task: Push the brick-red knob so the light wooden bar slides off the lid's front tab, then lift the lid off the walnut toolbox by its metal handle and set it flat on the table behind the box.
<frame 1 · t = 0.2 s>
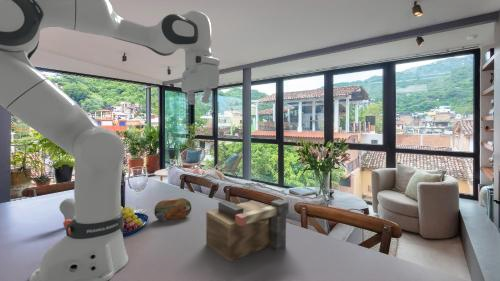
hand: (198, 103, 87), 47 cm above the table, tool pointing down, fingers open, 8 cm apart
toolbox: (242, 243, 85), on the table
lid: (242, 214, 85), point 10 cm above the table, touching toolbox
light wooden bar: (258, 214, 77), point 13 cm above the table, slide at 0.0 cm
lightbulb: (70, 226, 98), on the table
tin: (173, 219, 107), on the table
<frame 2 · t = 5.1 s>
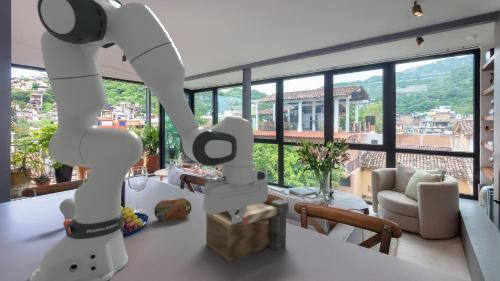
hand: (237, 222, 72), 12 cm above the table, tool pointing down, fingers closed
light wooden bar: (260, 214, 78), point 13 cm above the table, slide at 0.9 cm, touching gripper
everything else where it was.
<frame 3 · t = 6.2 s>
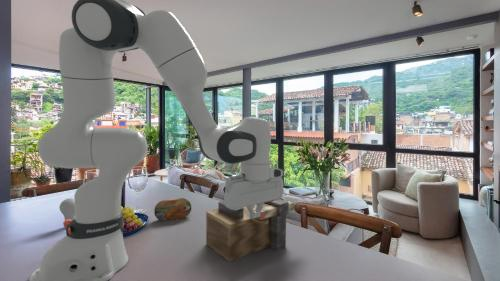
hand: (255, 217, 75), 12 cm above the table, tool pointing down, fingers closed
light wooden bar: (275, 209, 82), point 13 cm above the table, slide at 7.2 cm, touching gripper
everything else where it was.
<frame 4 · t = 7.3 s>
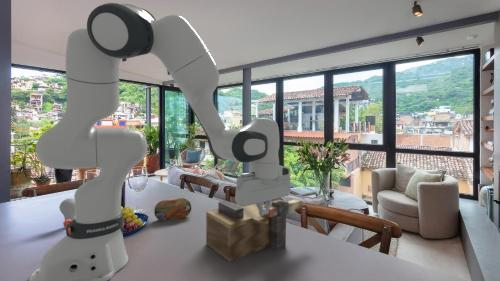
hand: (264, 214, 78), 12 cm above the table, tool pointing down, fingers closed
light wooden bar: (284, 207, 84), point 13 cm above the table, slide at 11.2 cm, touching gripper
everything else where it was.
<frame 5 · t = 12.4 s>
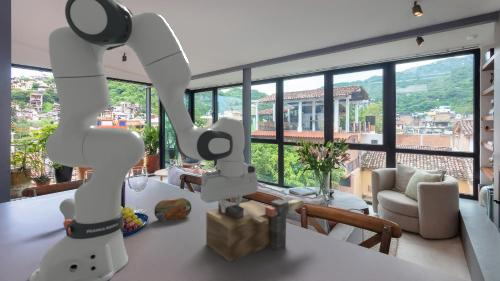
hand: (230, 210, 82), 12 cm above the table, tool pointing down, fingers closed on lid, 3 cm apart
lid: (242, 214, 85), point 10 cm above the table, touching gripper, toolbox
light wooden bar: (285, 207, 85), point 13 cm above the table, slide at 11.8 cm
everything else where it was.
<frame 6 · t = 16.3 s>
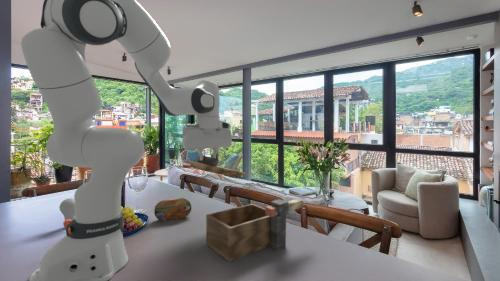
hand: (208, 159, 98), 26 cm above the table, tool pointing down, fingers closed on lid, 3 cm apart
lid: (216, 169, 101), point 22 cm above the table, tilted 16°, touching gripper
everything else where it was.
when the fingers open (5 cm above the table, at t = 20.3 s): lid stays where it is, point 1 cm above the table.
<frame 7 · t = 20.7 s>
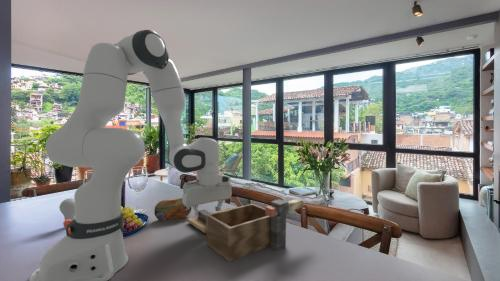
hand: (208, 213, 99), 5 cm above the table, tool pointing down, fingers open, 8 cm apart
lid: (217, 220, 103), point 1 cm above the table
everything else where it was.
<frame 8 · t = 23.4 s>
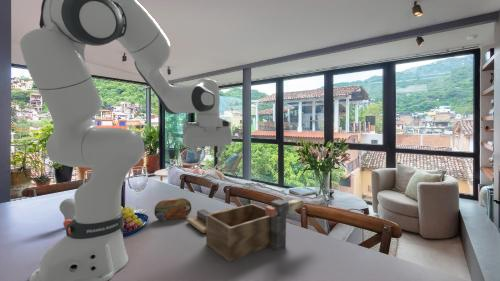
hand: (208, 157, 98), 27 cm above the table, tool pointing down, fingers open, 8 cm apart
nothing on the table moved.
at the end: light wooden bar slide at 11.8 cm; lid inside the target area (0.8 cm from its centre), point 0.8 cm above the table; lid tilted 0° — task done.
